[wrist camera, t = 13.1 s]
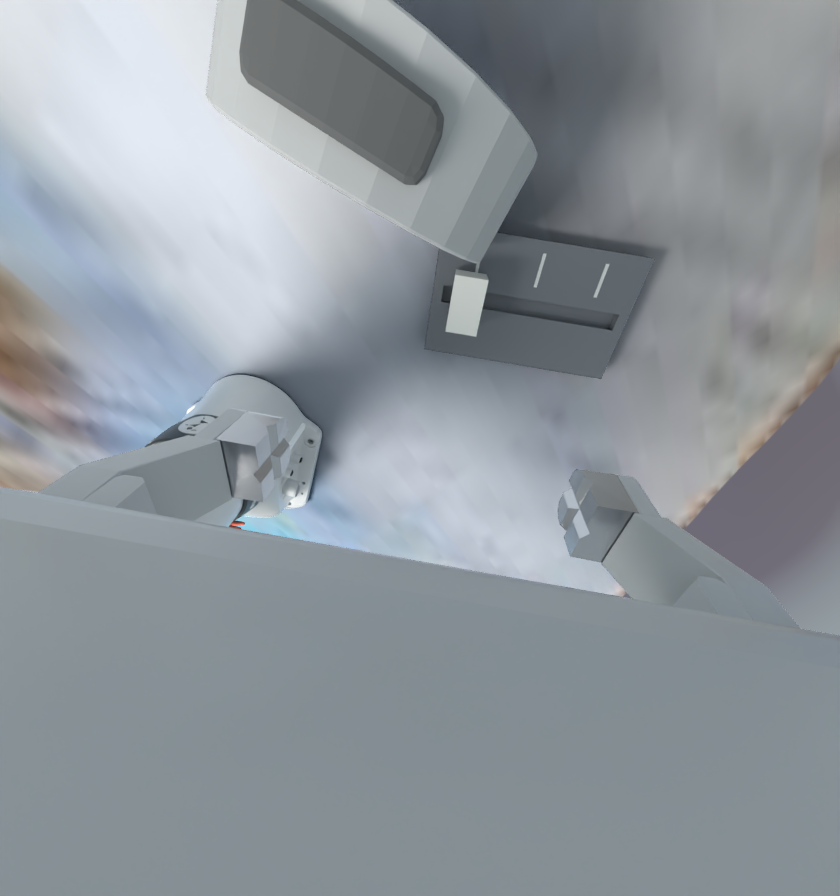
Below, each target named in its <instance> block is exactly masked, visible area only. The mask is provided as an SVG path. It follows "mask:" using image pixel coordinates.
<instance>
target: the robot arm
mask: <svg viewBox="0 0 840 896" xmlns="http://www.w3.org/2000/svg"><path fill="white" fill-rule="evenodd" d="M309 439H311V440H312V441H313V442H311V441H310V440H309ZM321 439H322V431H321V430H320V428H319V427H318V426H317V425H315V424H314V423H313V422H311V421H310V420H309V419H307V418H306V417H305V416H304V415H303V414H302V413H301V411H300V410H299V409H298V407H297V406H296V404H295V403H294V402H293V401H292V400H291V398H290V397H289V396H288V395H286V394H285V393H284V392H283V391H282V390H280V389H279V388H278V387H276V386H274V385H273V384H271V383H269V382H267V381H265V380H262V379H260V378H257V377H253V376H248V375H232V376H227V377H224V378H222V379H220V380H218V381H217V382H215V383H214V384H213V385H212V386H211V388H210V389H209V390H208V392H207V393H206V395H205V396H204V397H203V398H202V399H201V401H199V402H197V403H195V404H193V405H192V406H191V407H190V408H189V409H188V410H187V415H186V416H185V417H184V418H183V419H182V420H181V421H179V422H178V423H177V424H175V425H174V426H172V427H170V428H168V429H167V430H166V431H164V432H163V433H162V434H160V435H159V436H158V437H156V438H154V439H153V440H151V441H150V442H149V444H148V445H146V446H145V447H144V448H140V449H137V450H133V451H130V452H126V453H122V454H119V455H115V456H112V457H108V458H104V459H101V460H97V461H94V462H90V463H86V464H83V465H80V466H78V467H77V468H75V469H74V470H72V471H70V472H69V473H67V474H66V475H64V476H63V477H61V478H60V479H58V480H57V481H55V482H53V483H52V484H50V485H49V486H47V487H46V488H44V489H43V490H41V491H39V492H38V493H33V492H28V491H22V490H17V489H11V488H6V487H0V896H840V636H839V635H834V634H828V633H822V632H816V631H811V630H805V629H801V628H800V627H799V626H798V625H797V624H796V622H795V621H794V620H793V619H792V617H791V616H790V615H789V614H788V613H787V611H786V610H785V609H784V608H783V607H782V605H781V604H780V603H779V601H778V600H777V599H776V598H775V596H774V595H773V594H772V593H771V592H770V590H769V589H768V588H767V587H766V586H765V585H763V584H762V583H761V582H759V581H758V580H756V579H755V578H753V577H751V576H750V575H749V574H747V573H746V572H745V571H743V570H742V569H740V568H739V567H737V566H736V565H734V564H733V563H731V562H730V561H728V560H727V559H726V558H724V557H723V556H721V555H720V554H718V553H717V552H715V551H714V550H712V549H711V548H709V547H708V546H707V545H705V544H704V543H702V542H700V541H699V540H698V539H696V538H695V537H693V536H692V535H691V534H689V533H687V532H686V531H685V530H683V529H682V528H680V527H679V526H677V525H676V524H674V523H673V522H672V521H670V520H669V519H667V518H661V516H660V515H659V513H658V512H657V510H656V509H655V507H654V506H653V504H652V503H651V501H650V500H649V498H648V497H647V495H646V493H645V492H644V490H643V489H642V487H641V486H640V484H639V483H638V481H637V480H636V479H635V478H633V477H629V476H622V475H615V474H607V473H600V472H593V471H587V470H580V469H576V470H575V471H574V472H573V473H572V475H571V477H570V479H569V482H570V485H571V487H572V488H570V489H568V490H567V491H565V492H563V494H562V497H561V499H560V501H559V507H558V519H559V522H560V525H561V526H562V527H563V528H564V529H565V530H566V531H567V532H566V534H565V536H564V539H565V542H566V545H567V548H568V552H569V555H570V556H571V557H576V558H581V559H586V560H591V561H596V562H601V563H602V565H603V566H604V568H605V569H606V570H607V571H608V572H609V573H610V574H611V575H612V577H613V578H614V579H615V580H616V581H617V582H618V583H619V584H620V586H621V587H622V588H623V589H624V590H625V591H626V592H627V593H628V595H629V596H630V597H631V598H632V599H630V598H624V597H619V596H613V595H608V594H602V593H597V592H591V591H585V590H580V589H574V588H568V587H563V586H557V585H551V584H546V583H540V582H534V581H529V580H523V579H518V578H512V577H506V576H501V575H495V574H489V573H484V572H478V571H472V570H467V569H461V568H455V567H450V566H444V565H439V564H433V563H427V562H422V561H416V560H411V559H405V558H399V557H394V556H388V555H383V554H377V553H372V552H366V551H360V550H355V549H349V548H343V547H338V546H332V545H326V544H321V543H315V542H309V541H304V540H298V539H293V538H287V537H281V536H276V535H270V534H264V533H259V532H253V531H247V530H242V529H241V528H240V527H237V525H244V524H245V523H244V522H240V521H235V520H236V519H238V518H239V517H241V516H247V517H255V518H269V517H274V516H277V515H279V514H280V513H282V511H283V510H284V509H288V508H297V507H301V506H304V505H305V504H306V503H307V501H308V498H309V494H310V490H311V485H312V480H313V476H314V471H315V467H316V462H317V457H318V453H319V448H320V444H321ZM233 525H235V526H233Z"/></svg>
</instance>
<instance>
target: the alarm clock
mask: <svg viewBox="0 0 840 896" xmlns="http://www.w3.org/2000/svg"><path fill="white" fill-rule="evenodd" d="M206 97H207V99H208V101H209V102H210V103H211V104H212V106H213V107H214V108H215V109H216V110H217V111H219V112H220V113H221V114H223V115H224V116H225V117H226V118H228V119H229V120H230V121H232V122H233V123H234V124H235V125H237V126H238V127H239V128H241V129H242V130H244V131H245V132H247V133H248V134H250V135H251V136H253V137H254V138H256V139H257V140H258V141H260V142H261V143H263V144H264V145H266V146H267V147H269V148H270V149H272V150H273V151H275V152H276V153H278V154H279V155H281V156H283V157H284V158H286V159H287V160H289V161H290V162H292V163H294V164H295V165H297V166H298V167H300V168H301V169H303V170H305V171H306V172H308V173H309V174H311V175H312V176H314V177H316V178H317V179H319V180H320V181H322V182H324V183H325V184H327V185H329V186H330V187H332V188H334V189H335V190H337V191H339V192H340V193H342V194H344V195H345V196H347V197H349V198H350V199H352V200H354V201H355V202H357V203H359V204H360V205H362V206H364V207H365V208H367V209H369V210H371V211H372V212H374V213H376V214H378V215H379V216H381V217H383V218H385V219H387V220H388V221H390V222H392V223H394V224H395V225H397V226H399V227H401V228H402V229H404V230H406V231H408V232H410V233H411V234H413V235H415V236H417V237H419V238H421V239H423V240H425V241H427V242H428V243H430V244H432V245H434V246H436V247H438V248H440V249H442V250H444V251H446V252H448V253H450V254H453V255H455V256H457V257H459V258H461V259H464V260H467V261H470V262H473V263H478V262H480V261H481V260H482V258H483V257H484V255H485V253H486V251H487V249H488V248H489V246H490V244H491V242H492V240H493V239H494V237H495V235H496V233H497V231H498V230H499V228H500V226H501V224H502V222H503V221H504V219H505V217H506V215H507V214H508V212H509V210H510V208H511V206H512V205H513V203H514V201H515V199H516V197H517V196H518V194H519V192H520V190H521V188H522V187H523V185H524V183H525V181H526V180H527V178H528V176H529V174H530V172H531V171H532V169H533V167H534V165H535V163H536V159H537V155H538V153H537V151H536V148H535V146H534V144H533V141H532V139H531V137H530V135H529V134H528V133H527V131H526V130H525V128H524V127H523V126H522V124H521V123H520V122H519V120H518V119H517V118H516V116H515V115H514V114H513V112H512V111H511V110H510V108H509V107H508V106H507V105H506V104H505V103H504V102H503V101H502V100H501V99H500V98H499V96H498V95H497V94H496V93H495V92H494V91H493V90H492V89H491V88H490V87H489V86H488V85H487V84H486V83H485V82H484V80H483V79H482V78H481V77H480V76H479V75H478V74H477V73H476V72H475V71H474V70H473V69H472V68H471V67H470V66H468V65H467V64H466V63H465V62H464V61H463V60H462V59H461V58H460V57H459V56H458V55H456V54H455V53H454V52H453V51H452V50H451V49H450V48H449V47H448V46H447V45H445V44H444V43H443V42H442V41H441V40H440V39H439V38H438V37H437V36H436V35H435V34H433V33H432V32H431V31H430V30H429V29H428V28H427V27H425V26H424V25H423V24H422V23H420V22H419V21H418V20H417V19H415V18H414V17H413V16H412V15H410V14H409V13H408V12H407V11H405V10H404V9H403V8H402V7H400V6H399V5H398V4H397V3H395V2H394V1H393V0H217V7H216V15H215V23H214V32H213V40H212V48H211V56H210V65H209V73H208V81H207V89H206Z"/></svg>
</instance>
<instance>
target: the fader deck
mask: <svg viewBox="0 0 840 896" xmlns="http://www.w3.org/2000/svg"><path fill="white" fill-rule="evenodd" d="M654 260H655V259H653V258H648V257H643V256H637V255H631V254H625V253H619V252H613V251H607V250H601V249H595V248H589V247H583V246H577V245H571V244H565V243H559V242H553V241H547V240H541V239H534V238H528V237H522V236H516V235H510V234H504V233H498V232H497V233H496V235H495V237H494V239H493V240H492V242H491V244H490V246H489V248H488V249H487V251H486V253H485V255H484V257H483V258H482V260H481V261H480V262H478V263H473V262H470V261H467V260H464V259H461V258H459V257H457V256H455V255H453V254H450V253H448V252H446V251H444V250H442V249H440V248H439V253H438V259H437V266H436V273H435V280H434V287H433V294H432V301H431V307H430V314H429V321H428V328H427V335H426V342H425V348H424V349H427V350H433V351H439V352H445V353H451V354H457V355H463V356H469V357H474V358H480V359H486V360H492V361H498V362H504V363H510V364H516V365H522V366H527V367H533V368H539V369H545V370H551V371H557V372H563V373H569V374H574V375H580V376H586V377H592V378H598V379H601V378H602V376H603V374H604V371H605V369H606V367H607V365H608V362H609V360H610V358H611V356H612V354H613V351H614V349H615V347H616V345H617V342H618V340H619V338H620V336H621V334H622V331H623V329H624V327H625V325H626V322H627V320H628V318H629V316H630V314H631V311H632V309H633V307H634V305H635V302H636V300H637V298H638V296H639V293H640V291H641V289H642V287H643V285H644V282H645V280H646V278H647V276H648V273H649V271H650V269H651V267H652V265H653V262H654ZM456 269H458V270H464V271H470V272H476V273H482V274H487V277H488V280H489V281H488V286H487V290H486V295H485V299H484V304H483V308H482V313H481V317H480V322H479V326H478V330H477V335H476V337H475V336H469V335H463V334H457V333H451V332H445V330H446V324H447V319H448V313H449V307H450V301H451V296H452V290H453V284H454V278H455V273H456Z"/></svg>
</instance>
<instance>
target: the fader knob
mask: <svg viewBox="0 0 840 896" xmlns="http://www.w3.org/2000/svg"><path fill="white" fill-rule="evenodd" d="M488 281H489V280H488V277H487V274H482V273H476V272H470V271H464V270H458V269H456V273H455V278H454V284H453V290H452V296H451V301H450V307H449V313H448V319H447V324H446V330H445V332H451V333H457V334H463V335H469V336H475V337H476V335H477V330H478V326H479V322H480V317H481V313H482V308H483V304H484V299H485V295H486V290H487V286H488Z"/></svg>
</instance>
